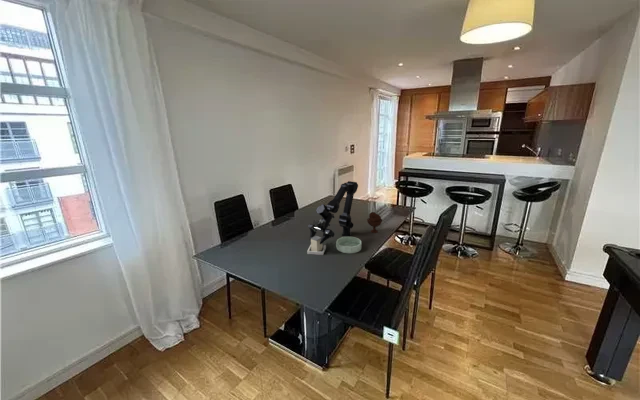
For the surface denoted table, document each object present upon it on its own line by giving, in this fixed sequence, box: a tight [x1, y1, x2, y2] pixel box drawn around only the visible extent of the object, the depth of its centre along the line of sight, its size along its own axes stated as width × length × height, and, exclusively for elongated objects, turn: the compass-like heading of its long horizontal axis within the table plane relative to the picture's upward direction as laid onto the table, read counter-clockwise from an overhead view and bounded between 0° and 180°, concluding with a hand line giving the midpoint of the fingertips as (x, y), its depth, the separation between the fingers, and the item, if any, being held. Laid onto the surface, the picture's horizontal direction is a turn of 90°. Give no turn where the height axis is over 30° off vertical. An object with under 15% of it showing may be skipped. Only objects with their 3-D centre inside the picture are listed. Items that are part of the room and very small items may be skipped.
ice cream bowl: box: [366, 211, 383, 234], centre depth 194 cm, size 11×11×15 cm
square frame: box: [306, 244, 327, 256], centre depth 168 cm, size 10×10×2 cm
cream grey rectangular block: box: [310, 235, 323, 252], centre depth 167 cm, size 5×5×9 cm
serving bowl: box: [335, 236, 362, 254], centre depth 171 cm, size 16×16×4 cm
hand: (315, 242), depth 166 cm, fingers open, 8 cm apart
